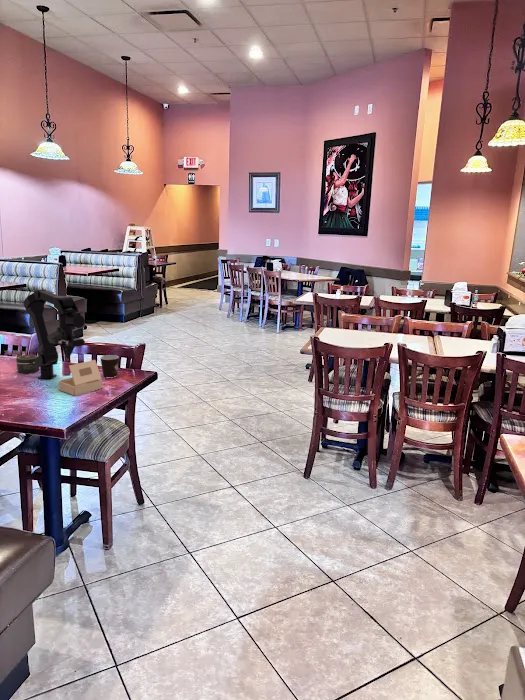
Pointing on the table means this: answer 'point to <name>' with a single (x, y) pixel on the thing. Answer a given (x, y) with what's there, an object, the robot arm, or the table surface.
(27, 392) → the table surface
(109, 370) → the coffee mug
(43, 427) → the table surface
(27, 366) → the jar
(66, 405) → the table surface
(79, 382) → the flap
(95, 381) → the kraft box
